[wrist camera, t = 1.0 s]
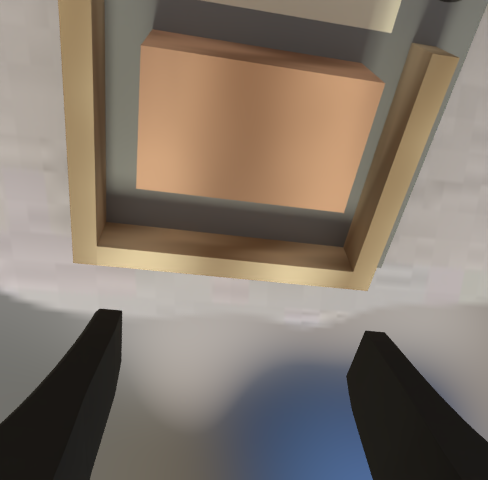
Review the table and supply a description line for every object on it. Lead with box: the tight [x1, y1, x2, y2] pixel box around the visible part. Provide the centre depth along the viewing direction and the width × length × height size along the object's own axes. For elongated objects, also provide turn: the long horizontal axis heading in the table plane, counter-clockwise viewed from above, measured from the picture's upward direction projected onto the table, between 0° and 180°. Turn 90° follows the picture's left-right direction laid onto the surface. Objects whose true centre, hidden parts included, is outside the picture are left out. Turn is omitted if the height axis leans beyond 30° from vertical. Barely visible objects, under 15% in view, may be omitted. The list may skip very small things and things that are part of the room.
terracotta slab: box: [136, 29, 385, 213], centre depth 17 cm, size 8×5×3 cm, turn 81°
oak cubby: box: [58, 0, 460, 291], centre depth 18 cm, size 13×10×2 cm
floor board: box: [104, 0, 488, 268], centre depth 18 cm, size 15×16×1 cm
